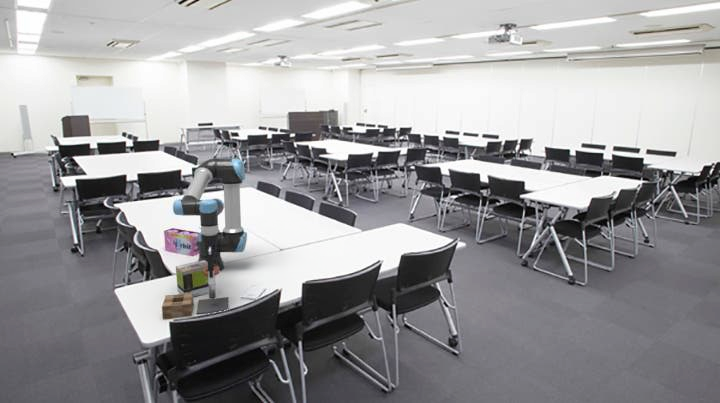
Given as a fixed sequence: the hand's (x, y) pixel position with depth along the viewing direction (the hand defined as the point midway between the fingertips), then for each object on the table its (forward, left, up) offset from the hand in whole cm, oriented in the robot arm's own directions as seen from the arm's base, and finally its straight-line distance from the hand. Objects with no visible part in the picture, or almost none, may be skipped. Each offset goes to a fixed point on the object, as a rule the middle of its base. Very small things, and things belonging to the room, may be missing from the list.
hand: (211, 280), depth 199 cm
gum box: (-83, -21, -14) cm, 87 cm away
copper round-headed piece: (0, 0, -9) cm, 9 cm away
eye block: (+2, -15, -13) cm, 20 cm away
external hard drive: (-9, +19, -14) cm, 26 cm away
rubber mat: (0, 0, -13) cm, 13 cm away
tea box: (-18, -9, -14) cm, 24 cm away
